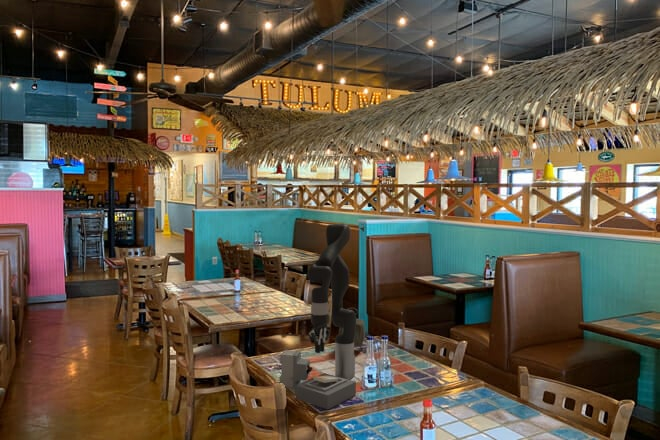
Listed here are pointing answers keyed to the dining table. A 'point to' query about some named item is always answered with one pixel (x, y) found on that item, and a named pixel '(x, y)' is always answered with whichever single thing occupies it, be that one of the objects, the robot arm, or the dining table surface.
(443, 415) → the dining table surface
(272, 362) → the dining table surface
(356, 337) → the tabletop clock
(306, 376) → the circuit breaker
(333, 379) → the breaker rocker
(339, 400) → the box
